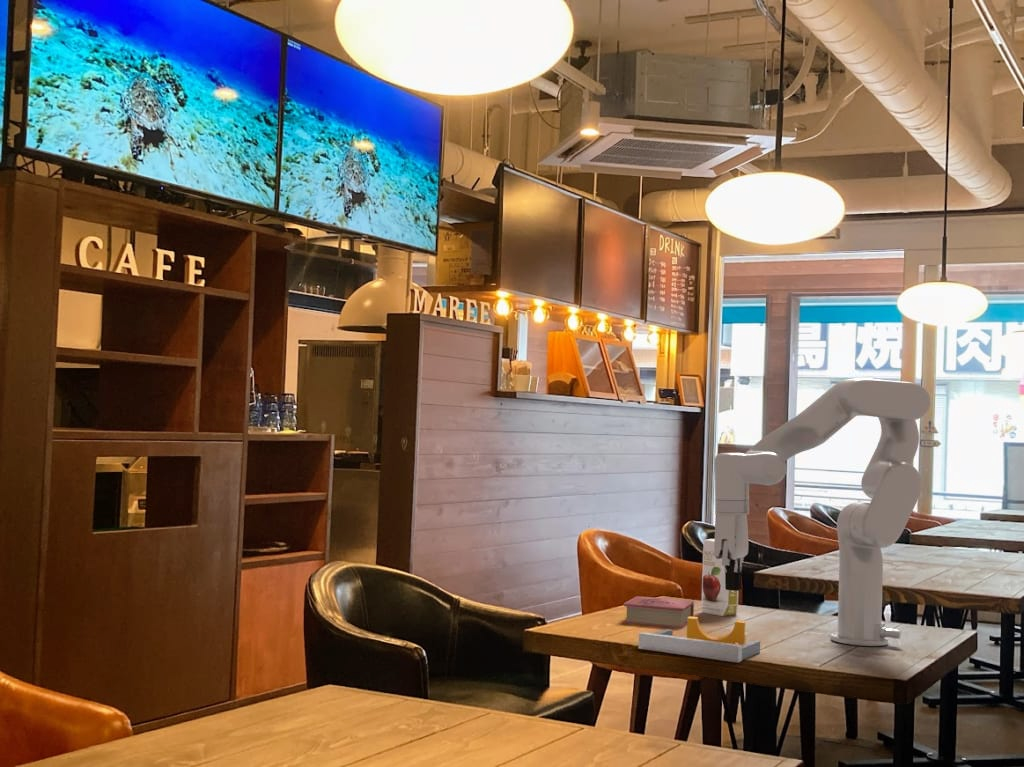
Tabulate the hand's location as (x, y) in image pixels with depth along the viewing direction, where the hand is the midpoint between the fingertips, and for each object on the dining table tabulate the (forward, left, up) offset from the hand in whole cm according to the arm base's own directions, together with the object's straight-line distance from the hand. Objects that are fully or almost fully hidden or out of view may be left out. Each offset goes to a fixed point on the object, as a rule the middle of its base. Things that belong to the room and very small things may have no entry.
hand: (733, 589), depth 257 cm
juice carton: (+17, -36, -12) cm, 42 cm away
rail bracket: (+1, +17, -11) cm, 21 cm away
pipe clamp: (-1, +12, -12) cm, 17 cm away
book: (+24, -14, -12) cm, 30 cm away
